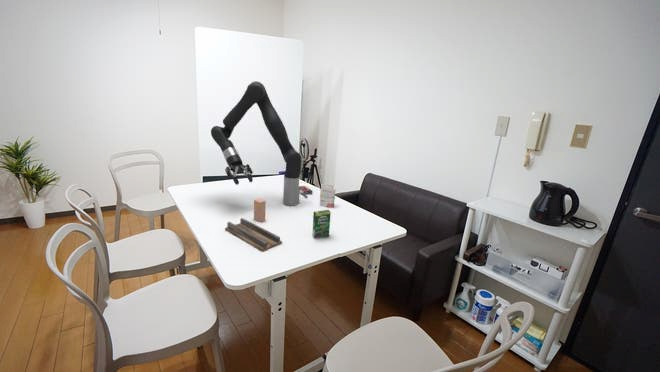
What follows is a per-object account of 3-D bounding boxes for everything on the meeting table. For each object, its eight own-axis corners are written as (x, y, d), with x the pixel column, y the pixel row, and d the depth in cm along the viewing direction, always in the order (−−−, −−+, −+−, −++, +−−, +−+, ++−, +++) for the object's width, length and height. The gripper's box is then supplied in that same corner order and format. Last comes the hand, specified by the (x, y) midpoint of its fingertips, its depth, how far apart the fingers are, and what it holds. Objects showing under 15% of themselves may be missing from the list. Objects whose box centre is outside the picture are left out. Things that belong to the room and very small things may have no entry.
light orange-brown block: (259, 217, 156) (259, 198, 153) (265, 220, 153) (265, 201, 150) (253, 219, 153) (253, 199, 150) (259, 222, 150) (260, 202, 147)
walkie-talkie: (294, 190, 209) (305, 199, 192) (294, 184, 207) (306, 192, 191) (305, 189, 213) (317, 198, 196) (306, 183, 211) (318, 191, 195)
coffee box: (313, 238, 138) (315, 213, 134) (311, 236, 140) (313, 210, 137) (329, 236, 141) (331, 211, 138) (326, 234, 144) (329, 209, 140)
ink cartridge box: (334, 205, 184) (336, 183, 179) (332, 208, 179) (334, 185, 175) (321, 203, 185) (323, 181, 181) (319, 206, 181) (320, 183, 176)
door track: (244, 223, 147) (244, 217, 146) (282, 243, 131) (282, 236, 130) (225, 229, 139) (224, 223, 138) (262, 251, 123) (262, 244, 122)
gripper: (223, 154, 151) (236, 181, 148) (246, 152, 162) (258, 177, 159) (217, 162, 156) (230, 188, 152) (240, 160, 167) (252, 184, 163)
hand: (244, 182), depth 155 cm, fingers open, 8 cm apart
